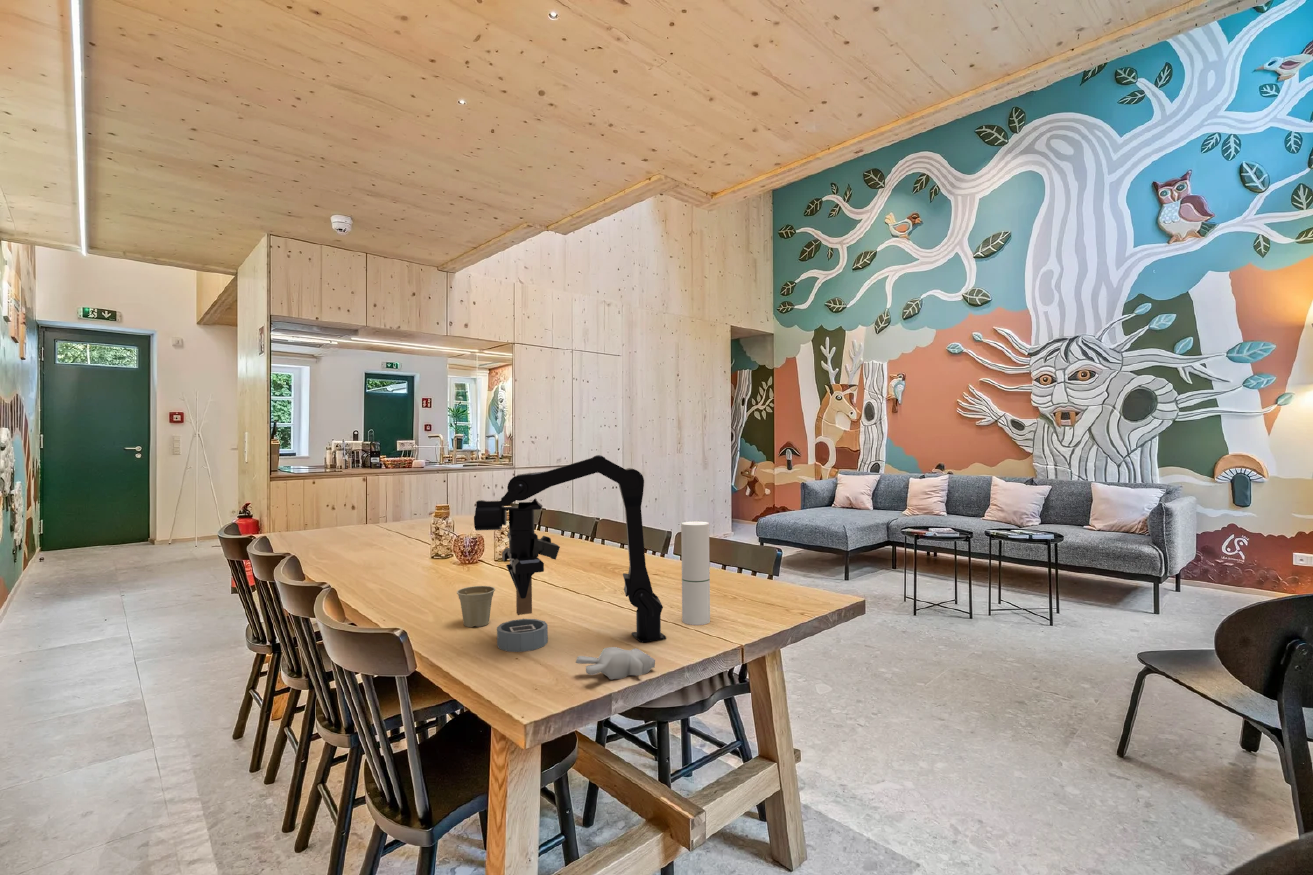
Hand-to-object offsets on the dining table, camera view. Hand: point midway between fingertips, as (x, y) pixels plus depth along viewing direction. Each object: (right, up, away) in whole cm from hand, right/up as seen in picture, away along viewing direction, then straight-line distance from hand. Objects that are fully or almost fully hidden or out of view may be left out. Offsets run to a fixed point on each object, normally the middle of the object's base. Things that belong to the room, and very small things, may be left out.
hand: (522, 597), depth 140 cm
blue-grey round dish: (0, -11, 0) cm, 11 cm away
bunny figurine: (+23, -11, -19) cm, 32 cm away
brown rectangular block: (0, -4, 0) cm, 4 cm away
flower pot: (-15, -11, +15) cm, 24 cm away
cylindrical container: (+41, -11, +16) cm, 45 cm away
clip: (0, -11, 0) cm, 11 cm away
